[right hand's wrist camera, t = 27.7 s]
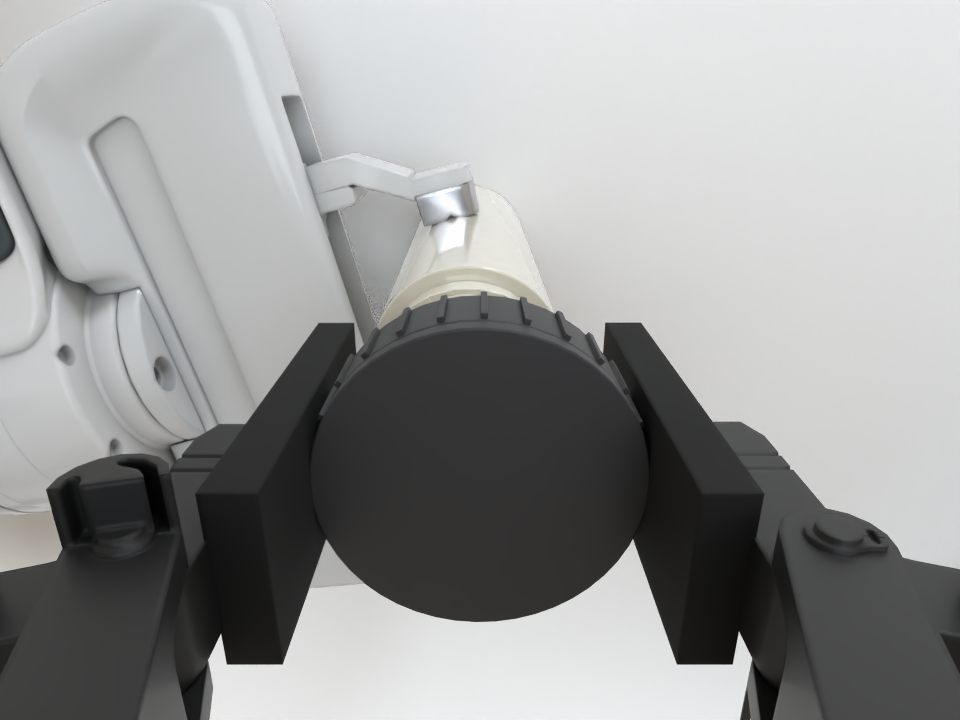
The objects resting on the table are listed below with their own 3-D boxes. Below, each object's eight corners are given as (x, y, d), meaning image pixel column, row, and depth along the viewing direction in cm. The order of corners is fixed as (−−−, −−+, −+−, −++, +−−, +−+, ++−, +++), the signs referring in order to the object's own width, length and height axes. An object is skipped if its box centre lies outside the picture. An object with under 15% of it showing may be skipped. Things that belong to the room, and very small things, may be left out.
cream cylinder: (397, 221, 27) (318, 354, 13) (488, 164, 27) (506, 242, 13) (453, 308, 29) (435, 510, 15) (541, 256, 28) (610, 418, 14)
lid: (336, 557, 13) (315, 623, 11) (318, 285, 11) (290, 317, 9) (614, 563, 13) (634, 629, 11) (648, 294, 11) (678, 327, 9)
